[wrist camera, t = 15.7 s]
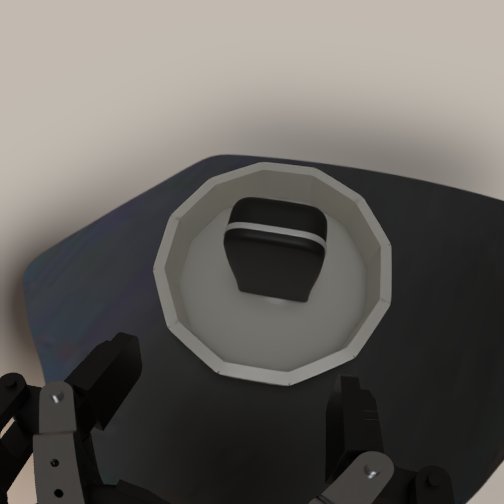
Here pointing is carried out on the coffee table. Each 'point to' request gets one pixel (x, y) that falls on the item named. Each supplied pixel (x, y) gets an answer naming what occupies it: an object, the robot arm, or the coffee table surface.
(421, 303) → the coffee table surface
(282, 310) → the bowl
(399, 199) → the coffee table surface
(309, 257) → the battery charger
